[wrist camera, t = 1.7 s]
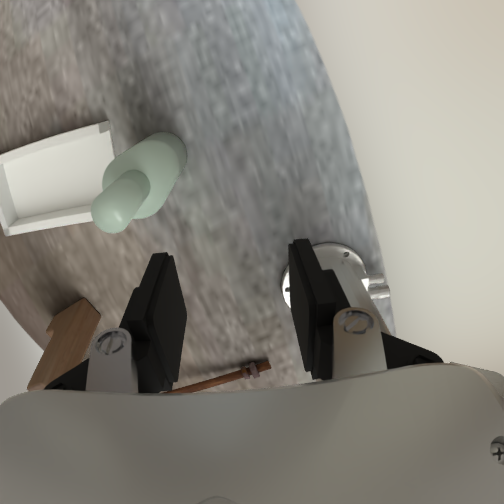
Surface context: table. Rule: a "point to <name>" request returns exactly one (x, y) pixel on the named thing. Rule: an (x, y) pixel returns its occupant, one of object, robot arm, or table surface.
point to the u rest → (54, 179)
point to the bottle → (138, 181)
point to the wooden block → (65, 343)
